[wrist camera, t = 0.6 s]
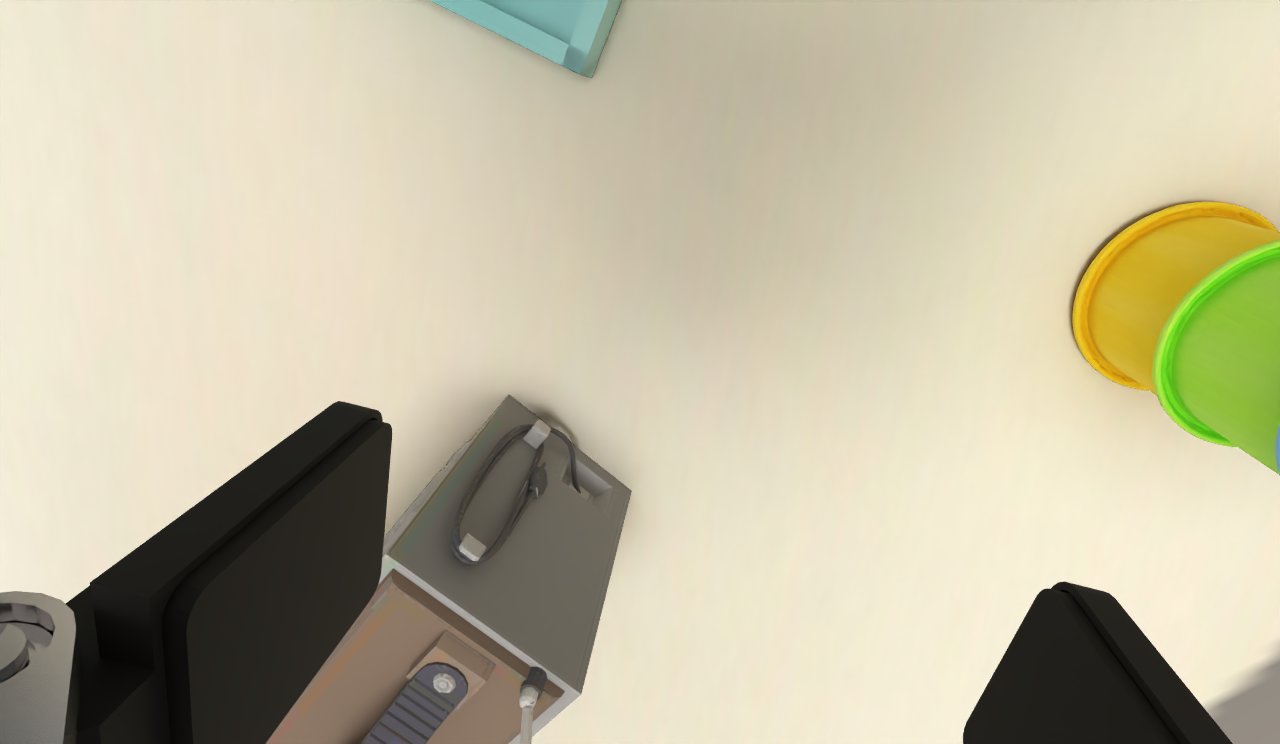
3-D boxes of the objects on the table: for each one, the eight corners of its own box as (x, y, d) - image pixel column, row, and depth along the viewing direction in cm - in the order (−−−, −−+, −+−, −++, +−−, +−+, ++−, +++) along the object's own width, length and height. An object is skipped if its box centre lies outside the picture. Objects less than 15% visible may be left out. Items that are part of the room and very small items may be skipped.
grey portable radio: (335, 595, 50) (-148, 1191, 22) (515, 378, 42) (104, 894, 14) (463, 684, 52) (162, 1340, 24) (660, 493, 44) (548, 1153, 16)
